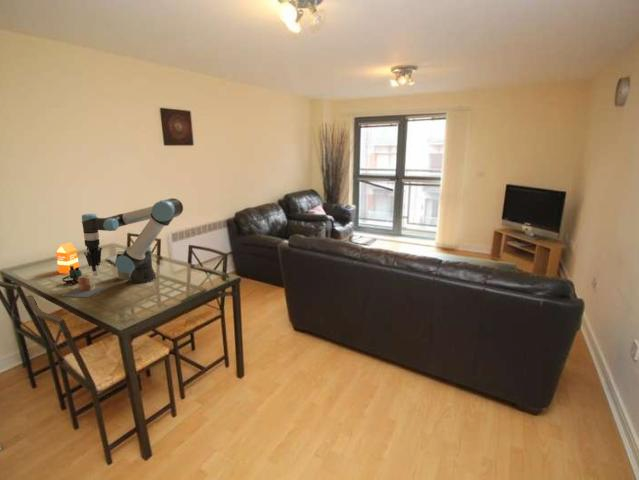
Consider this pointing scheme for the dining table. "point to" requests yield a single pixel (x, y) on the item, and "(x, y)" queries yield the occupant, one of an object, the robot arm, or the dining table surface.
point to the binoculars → (73, 275)
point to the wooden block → (86, 282)
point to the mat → (81, 292)
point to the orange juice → (66, 257)
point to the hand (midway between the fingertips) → (96, 275)
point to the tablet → (112, 258)
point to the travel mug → (120, 274)
